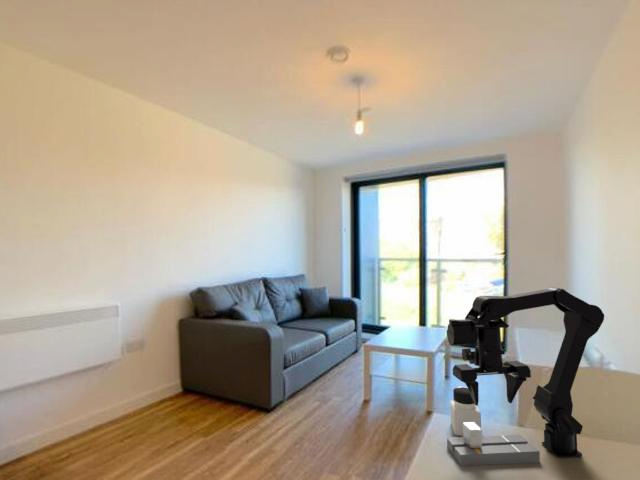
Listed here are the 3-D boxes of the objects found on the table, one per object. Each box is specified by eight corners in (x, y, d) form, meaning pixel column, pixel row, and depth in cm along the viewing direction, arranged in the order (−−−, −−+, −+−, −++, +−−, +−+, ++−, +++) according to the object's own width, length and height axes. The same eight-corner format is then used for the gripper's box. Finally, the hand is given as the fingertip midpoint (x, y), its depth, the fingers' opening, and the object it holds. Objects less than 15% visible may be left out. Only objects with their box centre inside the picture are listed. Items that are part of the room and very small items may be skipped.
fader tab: (474, 445, 93) (473, 422, 93) (482, 454, 89) (481, 429, 89) (463, 446, 92) (462, 422, 93) (470, 454, 88) (470, 430, 89)
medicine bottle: (481, 437, 99) (480, 394, 99) (454, 435, 100) (453, 392, 101) (475, 425, 106) (474, 385, 106) (450, 423, 107) (449, 383, 108)
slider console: (519, 444, 95) (519, 434, 95) (539, 461, 87) (539, 450, 87) (447, 447, 94) (446, 437, 94) (460, 465, 86) (460, 454, 86)
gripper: (505, 335, 102) (508, 389, 102) (442, 339, 101) (445, 394, 101) (530, 345, 91) (534, 406, 91) (460, 349, 90) (464, 411, 89)
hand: (493, 403), depth 93 cm, fingers open, 9 cm apart
